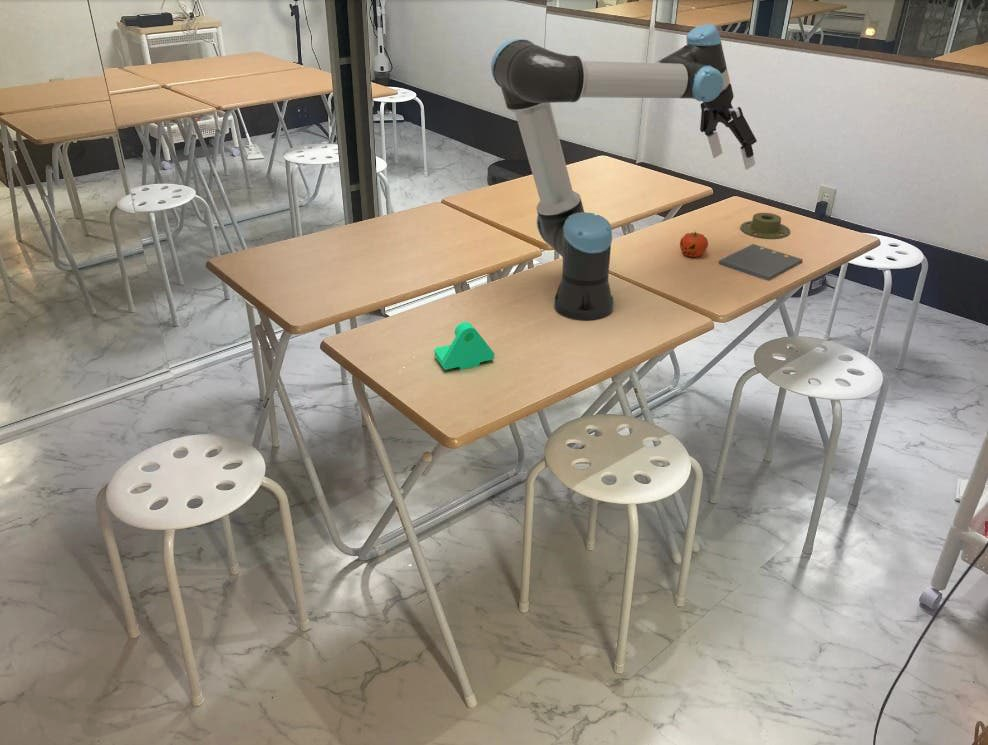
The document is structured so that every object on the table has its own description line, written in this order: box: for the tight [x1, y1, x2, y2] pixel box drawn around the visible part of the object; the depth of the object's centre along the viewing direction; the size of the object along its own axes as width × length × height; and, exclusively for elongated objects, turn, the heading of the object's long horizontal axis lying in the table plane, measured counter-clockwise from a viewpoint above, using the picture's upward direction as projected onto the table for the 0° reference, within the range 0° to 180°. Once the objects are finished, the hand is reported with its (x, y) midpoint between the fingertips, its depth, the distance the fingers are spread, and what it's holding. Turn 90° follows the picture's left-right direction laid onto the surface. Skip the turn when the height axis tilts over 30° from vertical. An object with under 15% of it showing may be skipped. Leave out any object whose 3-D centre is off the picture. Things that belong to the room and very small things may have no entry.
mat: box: [718, 243, 804, 281], centre depth 228 cm, size 18×16×1 cm
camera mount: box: [433, 321, 495, 371], centre depth 180 cm, size 12×8×10 cm, turn 113°
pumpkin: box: [679, 231, 709, 258], centre depth 232 cm, size 8×8×7 cm
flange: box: [739, 212, 791, 240], centre depth 250 cm, size 5×15×15 cm
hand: (733, 161), depth 213 cm, fingers open, 13 cm apart
